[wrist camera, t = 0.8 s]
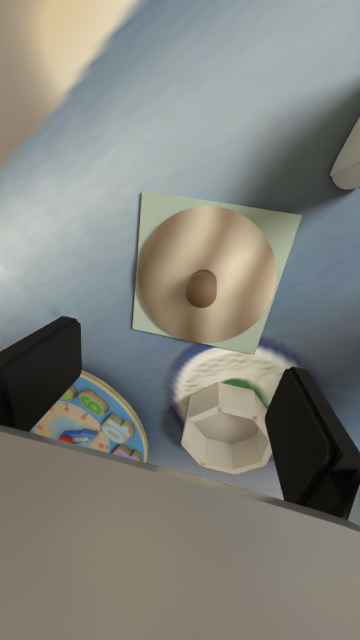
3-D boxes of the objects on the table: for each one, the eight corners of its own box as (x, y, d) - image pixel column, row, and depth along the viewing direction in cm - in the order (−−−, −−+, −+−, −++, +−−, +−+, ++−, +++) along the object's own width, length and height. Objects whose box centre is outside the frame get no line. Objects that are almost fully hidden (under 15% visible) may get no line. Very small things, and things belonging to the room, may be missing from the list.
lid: (295, 219, 24) (318, 217, 19) (251, 350, 31) (259, 377, 25) (146, 195, 25) (126, 187, 20) (136, 326, 32) (119, 346, 27)
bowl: (278, 395, 34) (287, 421, 29) (253, 451, 39) (258, 481, 34) (194, 376, 35) (191, 399, 30) (181, 433, 40) (177, 460, 36)
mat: (300, 215, 24) (302, 215, 24) (253, 352, 32) (254, 354, 31) (143, 191, 26) (142, 190, 25) (133, 327, 33) (132, 328, 33)
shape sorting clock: (39, 324, 36) (7, 341, 31) (185, 426, 40) (179, 457, 34) (-10, 420, 48) (-39, 445, 43) (106, 491, 52) (92, 523, 46)
